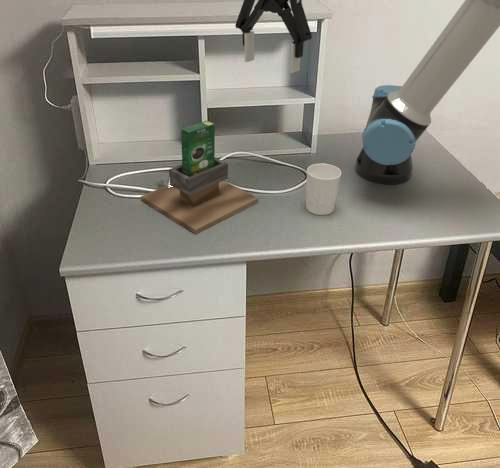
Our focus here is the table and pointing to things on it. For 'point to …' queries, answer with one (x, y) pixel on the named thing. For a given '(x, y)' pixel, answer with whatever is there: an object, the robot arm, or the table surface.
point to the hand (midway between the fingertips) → (271, 66)
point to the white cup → (322, 188)
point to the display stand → (199, 198)
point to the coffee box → (198, 148)
